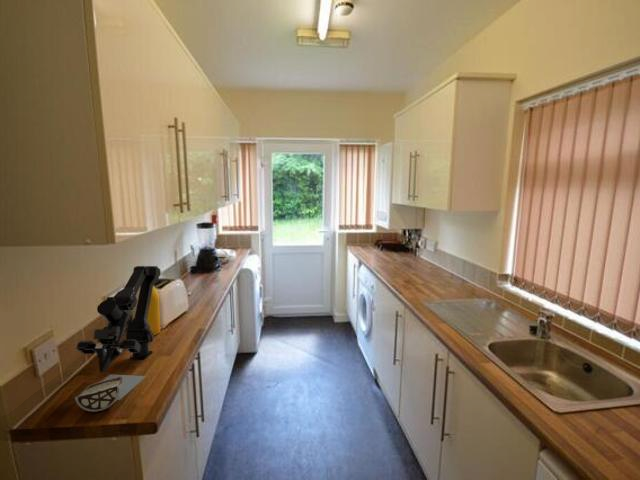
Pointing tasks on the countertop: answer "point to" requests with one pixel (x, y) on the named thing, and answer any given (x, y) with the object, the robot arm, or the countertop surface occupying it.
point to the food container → (100, 395)
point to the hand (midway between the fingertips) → (101, 372)
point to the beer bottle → (154, 312)
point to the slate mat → (126, 383)
